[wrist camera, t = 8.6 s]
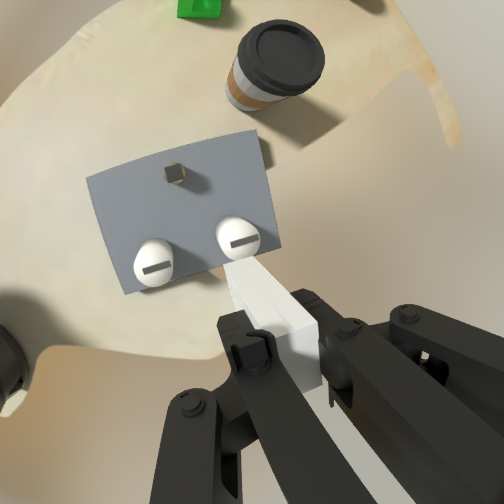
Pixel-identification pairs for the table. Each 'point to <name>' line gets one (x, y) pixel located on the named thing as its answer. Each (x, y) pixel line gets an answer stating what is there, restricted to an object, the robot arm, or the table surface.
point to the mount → (184, 204)
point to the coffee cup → (274, 65)
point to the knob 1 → (154, 263)
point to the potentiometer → (174, 173)
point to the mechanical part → (199, 8)
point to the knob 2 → (237, 237)
